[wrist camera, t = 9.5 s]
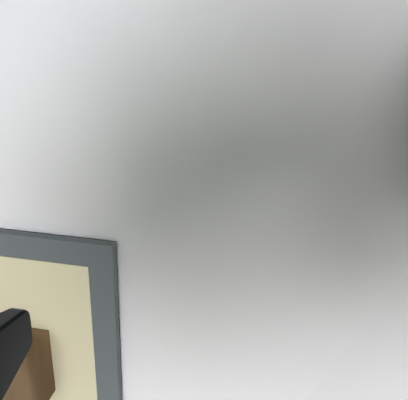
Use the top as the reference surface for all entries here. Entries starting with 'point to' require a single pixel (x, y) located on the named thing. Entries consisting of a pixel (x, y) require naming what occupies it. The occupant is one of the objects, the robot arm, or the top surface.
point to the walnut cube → (34, 371)
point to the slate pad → (68, 306)
